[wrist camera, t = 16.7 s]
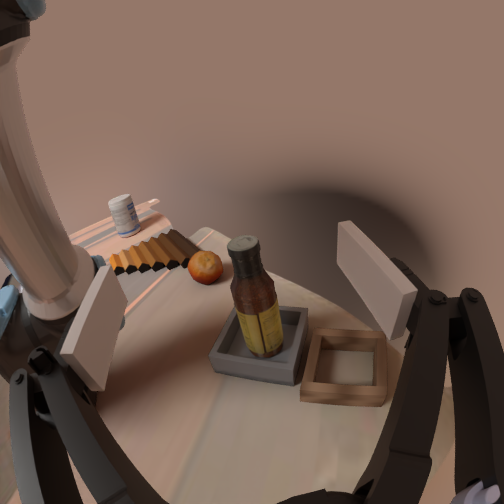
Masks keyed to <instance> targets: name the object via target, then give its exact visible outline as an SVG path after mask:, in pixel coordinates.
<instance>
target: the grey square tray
mask: <svg viewBox="0 0 504 504" xmlns="http://www.w3.org/2000/svg"><path fill="white" fill-rule="evenodd" d="M279 312H280V318H281V324H282V330H283V346H282V349H281V350H280V351H279V353H277V354H276V355H274V356H272V357H268V358H263V357H257V356H254V355H253V354H252V353H251V352H250V350H249V348H248V347H247V345H246V342H245V339H244V336H243V332H242V329H241V325H240V322H239V319H238V315H237V312H236V309H235V306H234V308H233V310H232V312H231V314H230V316H229V317H228V319H227V321H226V323H225V325H224V327H223V329H222V331H221V333H220V334H219V336H218V338H217V340H216V342H215V344H214V346H213V348H212V349H211V351H210V353H209V355H208V357H209V359H210V362H211V364H212V366H213V369H214V371H215V372H216V373H221V374H225V375H230V376H235V377H240V378H245V379H251V380H256V381H262V382H268V383H274V384H281V385H288V386H294V383H295V379H296V376H297V372H298V368H299V364H300V360H301V356H302V351H303V347H304V343H305V339H306V334H307V330H308V308H299V307H287V306H279Z"/></svg>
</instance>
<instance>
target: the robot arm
mask: <svg viewBox="0 0 504 504" xmlns="http://www.w3.org/2000/svg"><path fill="white" fill-rule="evenodd" d="M45 9H46V4H45V0H0V258H1V259H2V261H3V262H4V264H5V265H6V266H7V268H8V269H9V270H10V272H11V273H12V274H13V276H14V277H15V278H16V279H17V281H18V282H19V283H20V284H21V286H22V287H23V290H22V293H19V290H18V289H17V288H16V287H15V286H14V285H10V286H6V287H4V288H2V289H1V290H0V374H1V376H2V377H3V378H4V379H5V380H6V381H7V382H8V383H9V384H10V394H9V416H10V436H11V447H12V456H13V463H14V470H15V476H16V481H17V486H18V491H19V495H20V499H21V503H22V504H83V502H82V499H81V496H80V493H79V491H78V488H77V485H76V482H75V479H74V475H73V472H72V469H71V465H70V461H69V458H68V454H67V451H68V453H69V455H70V457H71V459H72V461H73V463H74V465H75V467H76V469H77V470H78V472H79V474H80V476H81V478H82V479H83V481H84V483H85V484H86V486H87V488H88V489H89V491H90V492H91V494H92V495H93V497H94V499H95V500H96V502H97V504H169V503H168V502H166V501H165V500H164V499H163V498H162V497H161V496H160V495H159V494H158V493H157V492H156V491H155V490H154V489H153V488H152V487H151V485H150V484H149V483H148V482H147V481H146V480H145V478H144V477H143V476H142V475H141V474H140V472H139V471H138V470H137V469H136V467H135V466H134V465H133V464H132V462H131V461H130V460H129V458H128V457H127V456H126V454H125V453H124V452H123V450H122V449H121V447H120V446H119V445H118V443H117V442H116V440H115V439H114V437H113V436H112V434H111V433H110V431H109V430H108V428H107V427H106V425H105V424H104V422H103V420H102V419H101V417H100V416H99V414H98V412H97V411H96V409H95V403H96V391H104V390H105V385H106V381H107V376H108V372H109V368H110V364H111V360H112V356H113V352H114V348H115V344H116V340H117V337H118V333H119V331H120V330H121V329H122V328H123V327H124V325H125V317H124V312H125V309H126V306H127V303H128V300H127V298H126V296H125V294H124V292H123V290H122V288H121V286H120V283H119V281H118V279H117V277H116V275H115V272H114V270H113V268H112V265H107V266H106V263H105V261H104V259H103V257H102V256H100V255H97V256H90V255H89V254H88V252H87V251H86V250H85V249H84V248H82V247H80V246H77V245H73V244H72V243H71V241H70V239H69V237H68V235H67V233H66V231H65V229H64V227H63V225H62V222H61V220H60V218H59V216H58V213H57V211H56V209H55V206H54V204H53V202H52V199H51V197H50V194H49V192H48V189H47V186H46V184H45V181H44V178H43V176H42V173H41V170H40V167H39V164H38V161H37V158H36V155H35V152H34V148H33V145H32V141H31V138H30V134H29V131H28V127H27V123H26V119H25V114H24V110H23V105H22V101H21V96H20V90H19V84H18V78H17V72H16V62H17V59H18V57H19V56H20V54H21V53H22V51H23V49H24V48H25V46H26V45H27V43H28V42H29V40H30V25H29V24H30V21H32V20H36V19H38V17H40V16H42V15H43V14H44V13H45ZM337 264H338V265H339V267H340V268H341V269H342V271H343V272H344V274H345V275H346V277H347V278H348V279H349V281H350V282H351V284H352V285H353V287H354V288H355V289H356V291H357V292H358V294H359V295H360V297H361V298H362V300H363V301H364V303H365V304H366V306H367V307H368V309H369V310H370V312H371V313H372V314H373V316H374V318H375V319H376V321H377V322H378V324H379V325H380V327H381V328H382V330H383V332H384V333H385V335H386V336H387V338H388V339H389V341H390V340H393V339H396V338H399V337H401V336H403V334H404V331H405V328H406V327H407V329H408V330H409V331H410V334H409V337H408V340H407V342H406V345H405V347H404V348H406V352H405V356H404V360H403V364H402V368H401V372H400V376H399V380H398V383H397V387H396V391H395V394H394V397H393V401H392V404H391V407H390V410H389V413H388V416H387V419H386V422H385V425H384V427H383V430H382V433H381V435H380V438H379V441H378V443H377V446H376V448H375V451H374V453H373V455H372V458H371V460H370V462H369V464H368V466H367V468H366V470H365V472H364V473H363V475H362V476H361V478H360V480H359V482H358V483H357V485H356V487H355V489H354V491H353V493H352V494H350V493H346V492H337V491H328V492H326V490H325V489H322V490H318V491H314V492H310V493H306V494H302V495H298V496H293V497H291V498H289V499H287V500H284V501H282V502H279V503H277V504H418V503H419V500H420V498H421V496H422V493H423V490H424V488H425V485H426V482H427V479H428V476H429V473H430V470H431V466H432V459H431V457H430V449H431V445H432V442H433V438H434V434H435V430H436V425H437V421H438V416H439V411H440V406H441V400H442V394H443V388H444V381H445V373H446V364H447V355H448V361H449V368H450V375H451V382H452V391H453V402H454V415H455V492H456V496H455V497H454V498H453V500H452V501H451V503H450V504H504V352H503V349H502V346H501V343H500V339H499V336H498V333H497V330H496V328H495V325H494V322H493V320H492V317H491V314H490V312H489V309H488V307H487V304H486V302H485V300H484V297H483V296H482V294H481V293H480V292H479V291H478V290H476V289H473V288H465V289H463V290H462V292H461V294H460V297H453V298H448V297H447V296H446V295H445V294H444V293H442V292H440V291H437V290H429V289H428V288H427V287H426V286H425V284H424V283H423V282H422V281H421V280H420V279H419V278H418V277H417V276H416V275H415V274H414V273H413V272H412V271H411V270H410V269H409V268H408V267H407V266H406V265H405V264H404V263H403V262H402V261H400V260H398V259H396V258H391V259H389V258H388V257H387V256H386V255H385V254H384V253H383V252H382V251H381V250H380V249H379V248H378V247H377V246H376V245H375V244H374V243H373V242H372V241H371V240H370V239H369V238H368V237H367V236H366V235H365V234H364V233H363V232H362V231H361V230H360V229H358V228H357V227H356V226H355V225H354V224H353V223H352V222H351V221H345V222H339V223H338V248H337ZM66 449H67V450H66Z"/></svg>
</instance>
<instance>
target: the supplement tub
mask: <svg viewBox="0 0 504 504" xmlns="http://www.w3.org/2000/svg"><path fill="white" fill-rule="evenodd" d="M108 204H109V208H110V211H111V214H112V217H113V220H114V223H115V226H116V229H117V231H118V234H119V236H120V237H122V238H125V237H129V236H132V235H134V234H136V233H137V232H139V231H140V229H141V227H140V223H139V220H138V217H137V214H136V211H135V208H134V204H133V201H132V198H131V195H130V194H125V195H121V196H118V197H116V198H114V199H112V200H110V201H109V202H108Z"/></svg>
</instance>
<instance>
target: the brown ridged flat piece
mask: <svg viewBox="0 0 504 504" xmlns="http://www.w3.org/2000/svg"><path fill="white" fill-rule="evenodd" d="M199 251H200V250H199V249H198V248H197V247H196V246H194V245H193V244H192V243H191V242H190V241H188V240H187V239H186V238H185V237H184V236H182V235H181V234H180V233H179V232H178V231H176V230H173V229H170V231H169V232H168V234H164V233H161V234H160V235H159V237H158V238H154V237H151V238H150V240H149V241H148V242H144V241H141V243H140V244H139V246H133V245H132V246H131V248H130V249H129V251H127V250H122V251H121V252H120V254H119V255H116V254H112V255H111V257H110V259H109V261H110V264H111V265H112V268H113V270H114V272H115V275H116V276H117V275H119V274H122V273H124V269H125V271H126V272H127V273H128V275H129V274H131V273H133V272H135V271H136V267H137V269H138V270H139V271H140V272H141V273H143V272H145V271H148V270H149V265H150V266H151V268H152V269H153V270H154V271H155V272H156V271H158V270H160V269H162V268H163V263H164V264H165V266H166V267H167V268H168V269H169V270H171V269H173V268H175V267H178V262H179V264H180V265H181V266H182V267H183V268H184V269H185V268H187V267H188V263H189V261H190V259H191V258H192V256H193V255H194V254H195V253H197V252H199Z"/></svg>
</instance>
